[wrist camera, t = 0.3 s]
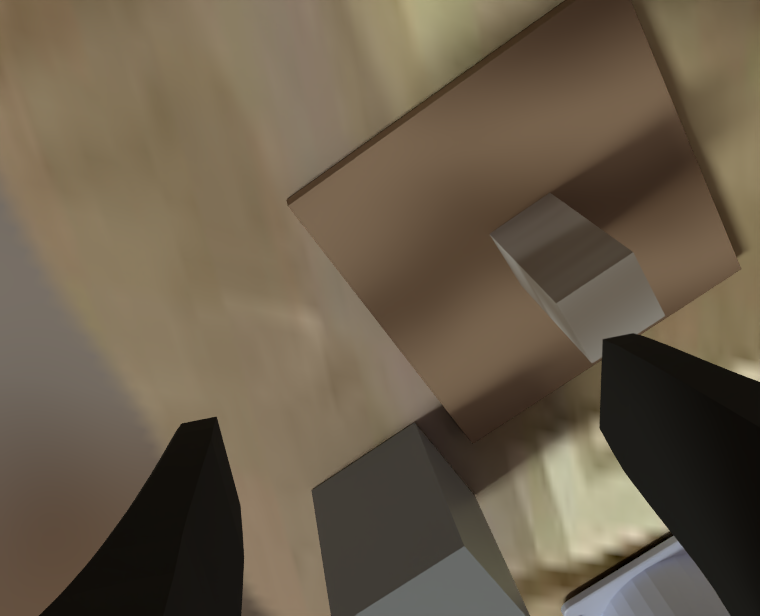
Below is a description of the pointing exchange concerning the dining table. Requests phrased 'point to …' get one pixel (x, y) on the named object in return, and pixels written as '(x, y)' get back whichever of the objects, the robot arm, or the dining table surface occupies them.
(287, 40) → the dining table surface
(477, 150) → the post board
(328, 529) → the grey rectangular block
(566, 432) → the dining table surface
